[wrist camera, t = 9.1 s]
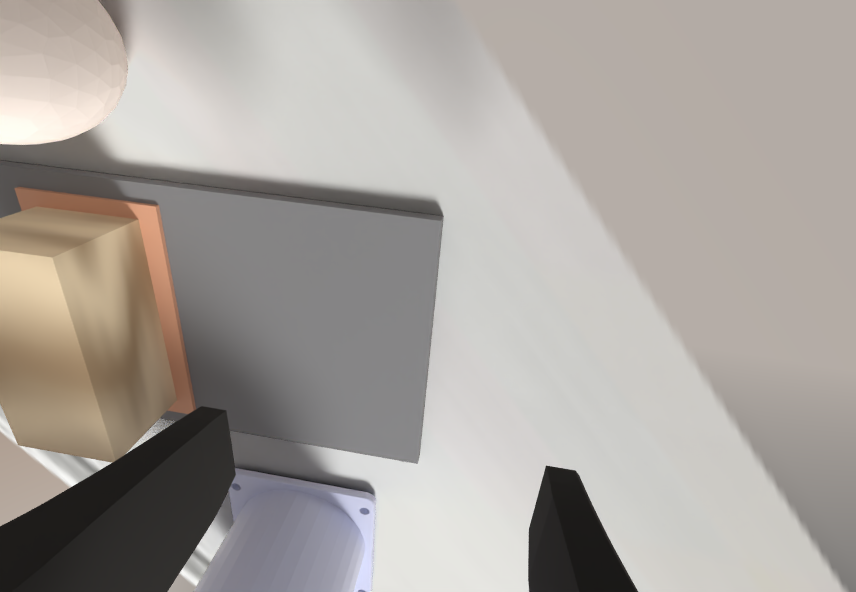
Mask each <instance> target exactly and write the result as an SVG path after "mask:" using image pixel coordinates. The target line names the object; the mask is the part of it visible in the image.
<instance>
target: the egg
mask: <svg viewBox="0 0 856 592" xmlns="http://www.w3.org/2000/svg"><path fill="white" fill-rule="evenodd" d="M127 73H128V65H127V56H126V50H125V47H124V44H123V41H122V37H121V35H120V33H119V31H118V30H117V28H116V26H115V24H114V23H113V21H112V19H111V17H110V16H109V14H108V13H107V11H106V10H105V9H104V7H103V6H102V4H101V3H100V2H99V1H98V0H0V144H13V145H29V144H42V143H49V142H56V141H62V140H65V139H68V138H72V137H75V136H77V135H79V134H81V133H84V132H86V131H88V130H90V129H92V128H94V127H95V126H97V125H99V124H100V123H101V122H102V121H103V120H104V119H105V118H106V117H107V116H108V115H109V114H110V113H111V112H112V111H113V110H114V109H115V108H116V106H117V104H118V102H119V100H120V98H121V96H122V93H123V91H124V89H125V86H126V82H127Z"/></svg>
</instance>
